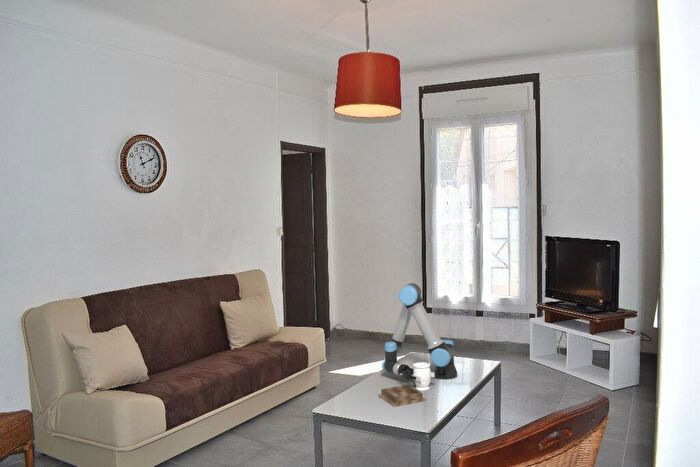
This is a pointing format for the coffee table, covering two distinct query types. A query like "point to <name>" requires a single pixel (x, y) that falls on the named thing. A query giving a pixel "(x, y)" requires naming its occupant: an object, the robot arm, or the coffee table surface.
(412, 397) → the holder
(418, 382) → the jar
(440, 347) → the robot arm
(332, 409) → the coffee table surface
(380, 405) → the coffee table surface
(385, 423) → the coffee table surface
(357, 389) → the coffee table surface
